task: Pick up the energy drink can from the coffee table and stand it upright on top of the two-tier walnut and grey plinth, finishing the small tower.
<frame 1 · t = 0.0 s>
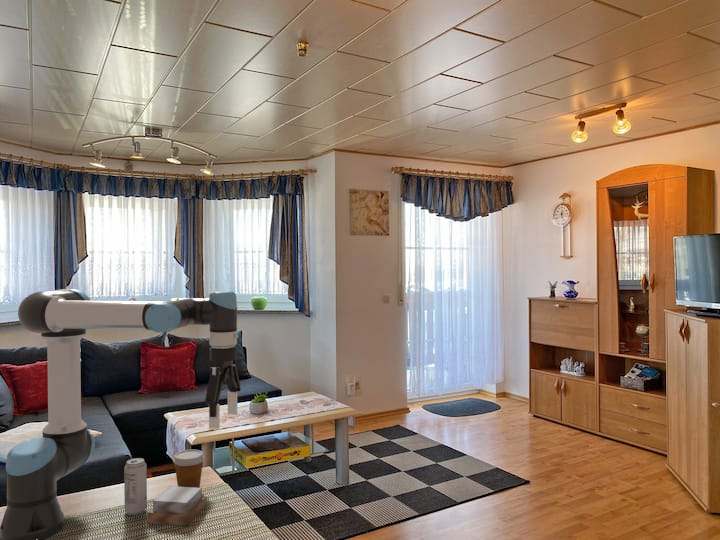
hand: (223, 421, 157), 28 cm above the table, tool pointing down, fingers open, 13 cm apart
disposable coffee cup: (189, 492, 176), on the table
energy drink can: (135, 512, 162), on the table
plinth: (178, 514, 160), on the table
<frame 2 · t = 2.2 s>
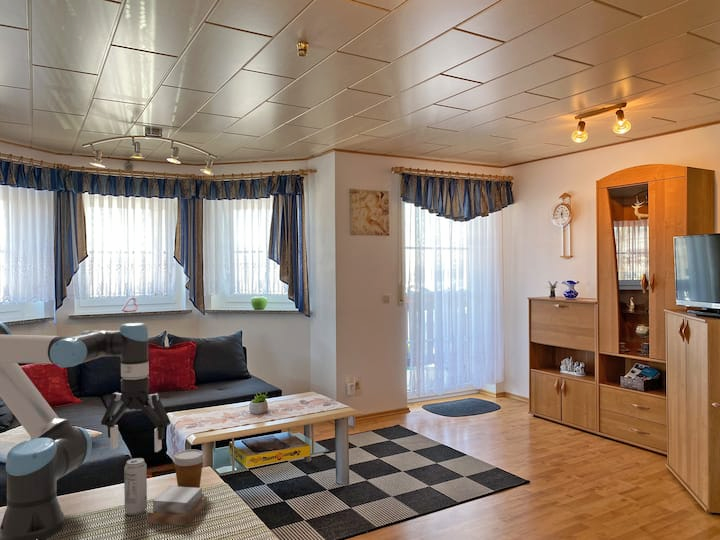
hand: (136, 449, 162), 18 cm above the table, tool pointing down, fingers open, 13 cm apart
nothing on the table moved.
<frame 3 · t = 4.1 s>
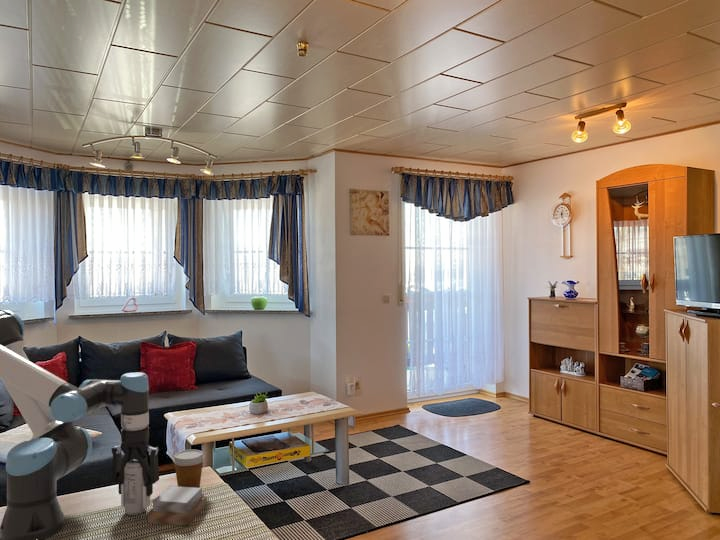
hand: (135, 505, 162), 2 cm above the table, tool pointing down, fingers closed on energy drink can, 6 cm apart
energy drink can: (135, 512, 162), on the table, touching gripper
everything else where it was.
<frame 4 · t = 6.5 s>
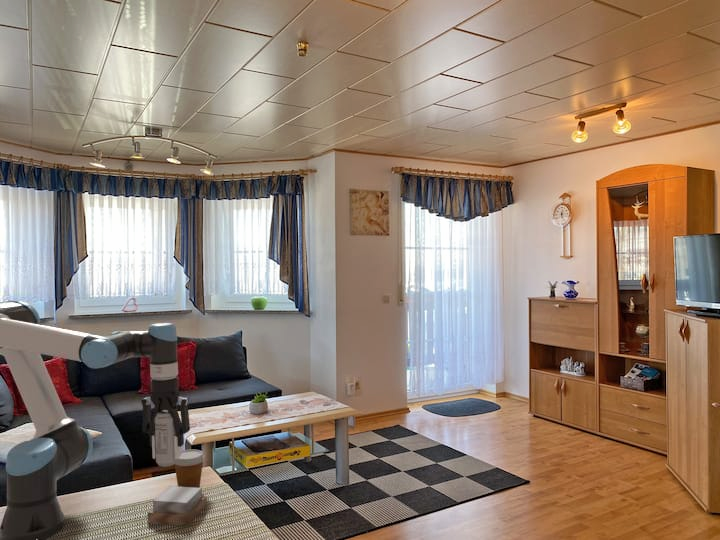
hand: (167, 456, 160), 17 cm above the table, tool pointing down, fingers closed on energy drink can, 6 cm apart
energy drink can: (167, 464, 161), point 15 cm above the table, touching gripper
everything else where it was.
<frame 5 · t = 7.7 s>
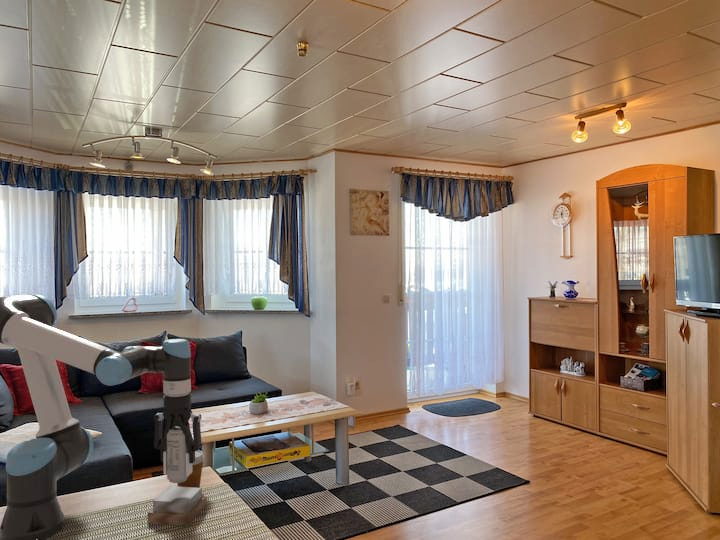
hand: (178, 473, 160), 12 cm above the table, tool pointing down, fingers closed on energy drink can, 6 cm apart
energy drink can: (178, 480, 160), point 10 cm above the table, touching gripper
everything else where it was.
when the fingers open (9 cm above the table, at t = 8.6 s): energy drink can drops 1 cm, resting on plinth.
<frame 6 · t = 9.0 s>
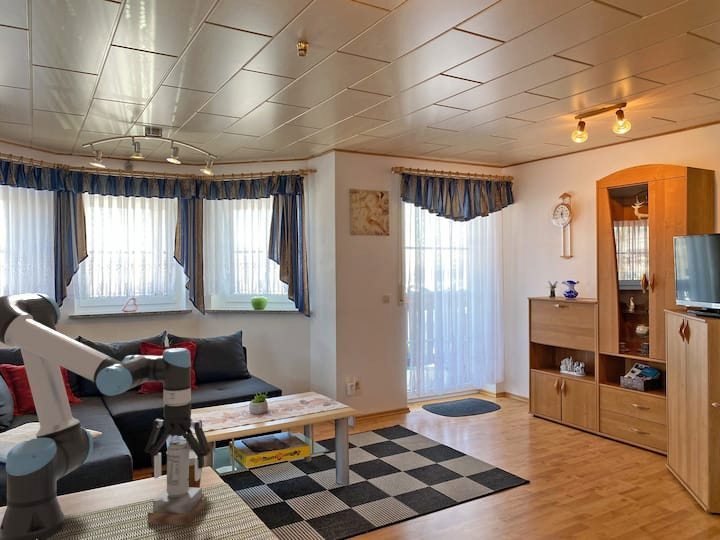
hand: (177, 477, 160), 11 cm above the table, tool pointing down, fingers open, 11 cm apart
energy drink can: (177, 494, 160), point 6 cm above the table, touching plinth
everything else where it was.
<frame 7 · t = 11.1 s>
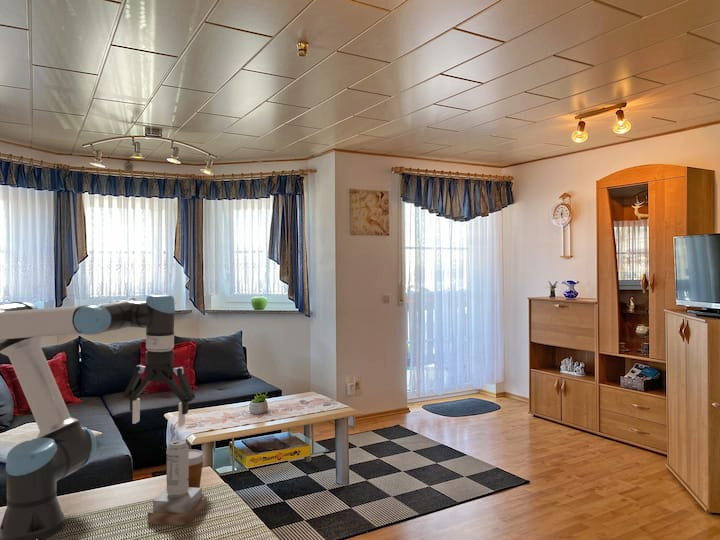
hand: (158, 423, 158), 27 cm above the table, tool pointing down, fingers open, 13 cm apart
nothing on the table moved.
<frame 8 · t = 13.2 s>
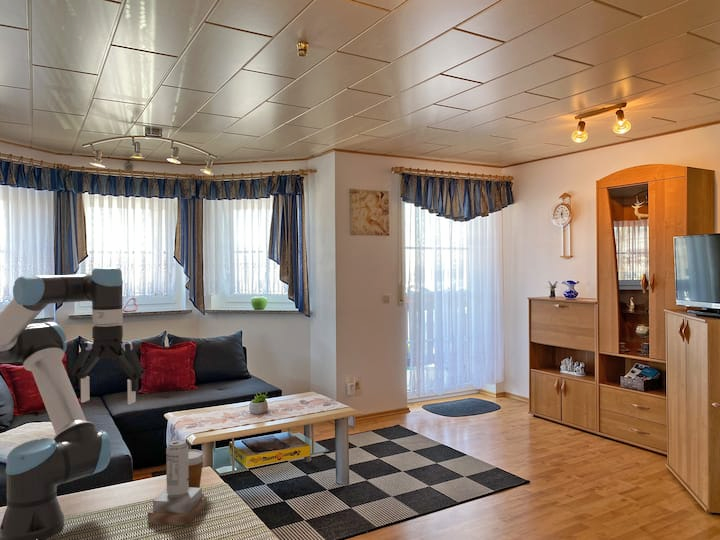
hand: (108, 402, 152), 35 cm above the table, tool pointing down, fingers open, 13 cm apart
nothing on the table moved.
at the end: energy drink can 0.1 cm off-centre on the plinth, point 5.8 cm above the plinth's base; energy drink can tilted 0°; the gripper is holding nothing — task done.
